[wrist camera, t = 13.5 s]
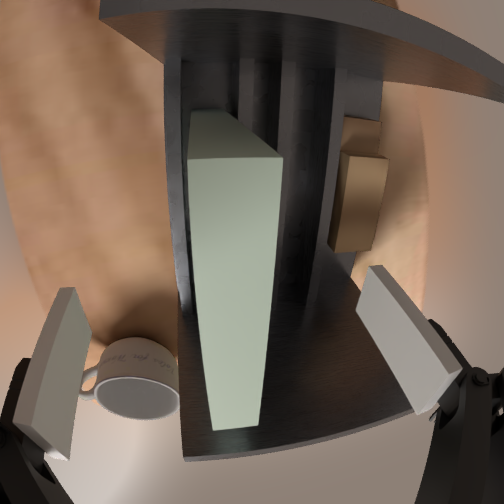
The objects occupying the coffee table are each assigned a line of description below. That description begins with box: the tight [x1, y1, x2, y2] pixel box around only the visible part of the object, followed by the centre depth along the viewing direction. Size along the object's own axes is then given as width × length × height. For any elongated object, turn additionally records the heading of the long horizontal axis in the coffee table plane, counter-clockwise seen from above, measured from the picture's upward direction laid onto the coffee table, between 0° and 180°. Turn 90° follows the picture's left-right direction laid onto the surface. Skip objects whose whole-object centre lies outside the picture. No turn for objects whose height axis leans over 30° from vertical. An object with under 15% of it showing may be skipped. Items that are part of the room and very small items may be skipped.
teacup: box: [78, 337, 180, 420], centre depth 34 cm, size 14×11×8 cm
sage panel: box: [187, 109, 283, 430], centre depth 19 cm, size 14×2×18 cm, turn 178°
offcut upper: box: [327, 151, 389, 253], centre depth 26 cm, size 9×4×2 cm, turn 178°
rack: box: [99, 0, 504, 462], centre depth 21 cm, size 24×20×20 cm
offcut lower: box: [340, 115, 382, 154], centre depth 27 cm, size 12×4×2 cm, turn 178°
